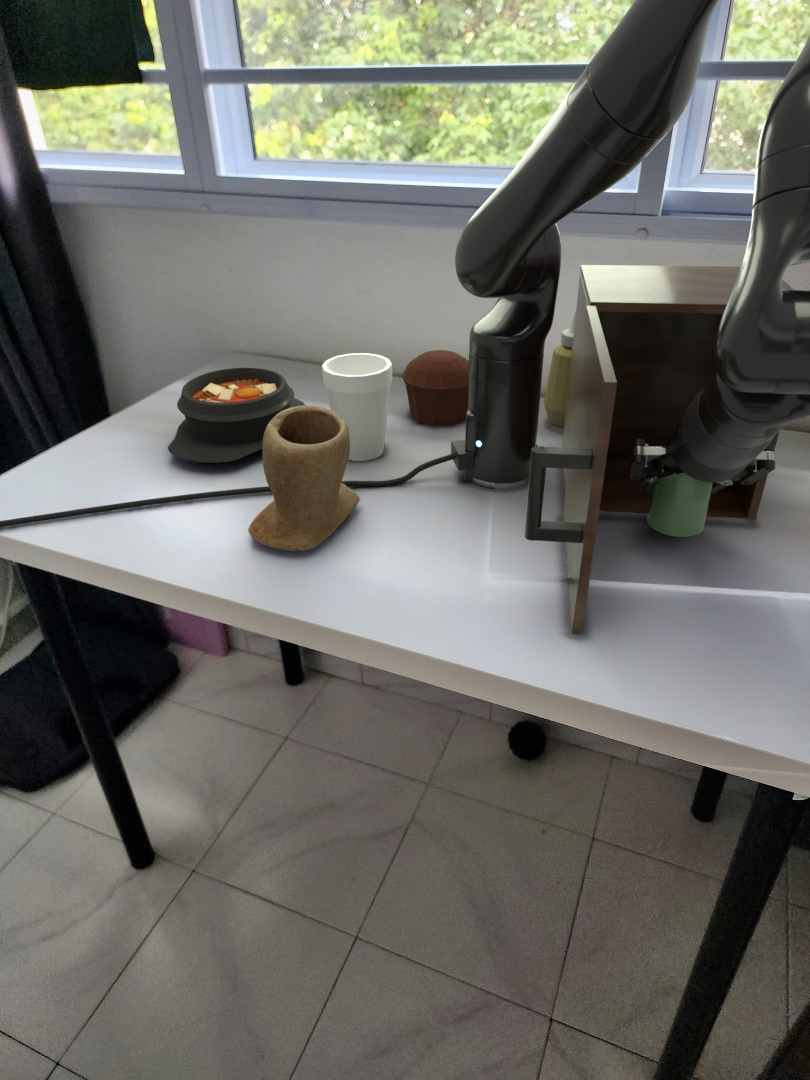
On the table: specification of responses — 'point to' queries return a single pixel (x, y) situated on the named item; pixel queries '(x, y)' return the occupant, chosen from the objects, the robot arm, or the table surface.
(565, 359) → the squeeze bottle
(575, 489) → the cupboard door
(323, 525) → the stone cup
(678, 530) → the pot
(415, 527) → the table surface
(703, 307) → the cupboard
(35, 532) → the table surface
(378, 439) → the foam cup
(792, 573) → the table surface
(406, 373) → the muffin
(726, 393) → the robot arm
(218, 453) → the casserole
